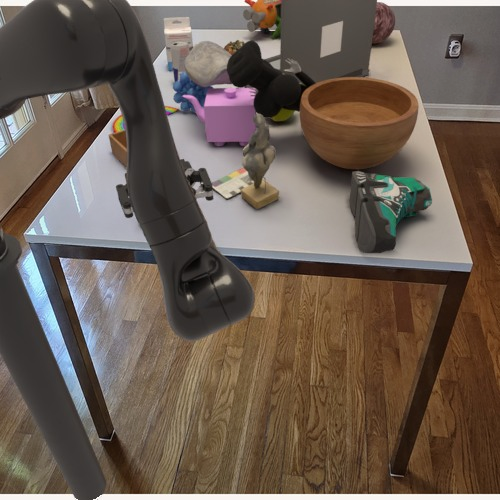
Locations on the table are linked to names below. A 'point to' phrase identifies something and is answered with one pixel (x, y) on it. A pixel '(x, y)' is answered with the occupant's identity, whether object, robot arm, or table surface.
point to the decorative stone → (207, 64)
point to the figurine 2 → (252, 170)
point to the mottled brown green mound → (233, 46)
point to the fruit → (283, 115)
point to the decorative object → (119, 122)
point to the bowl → (357, 120)
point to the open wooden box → (119, 145)
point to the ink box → (176, 35)
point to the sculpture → (383, 23)
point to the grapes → (189, 92)
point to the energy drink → (179, 57)
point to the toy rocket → (264, 16)
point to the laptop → (326, 37)
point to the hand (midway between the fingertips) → (156, 168)
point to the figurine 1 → (267, 80)
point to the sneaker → (384, 207)
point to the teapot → (227, 114)
